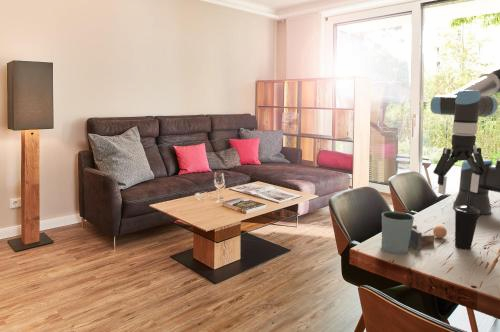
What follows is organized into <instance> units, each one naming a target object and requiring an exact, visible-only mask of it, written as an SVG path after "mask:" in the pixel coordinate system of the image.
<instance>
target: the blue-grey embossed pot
mask: <svg viewBox="0 0 500 332" xmlns="http://www.w3.org/2000/svg"><path fill="white" fill-rule="evenodd" d="M414 220H415V218H414V216H413V215H412V214H410V213H406V212H403V211H402V212H401V211H394V210H393V211H392V210H391V211H384V212H382V213H381V249H382V250H383V251H384V252H386V253H389V254H393V255H403V254H407V253H408V251H409V246H410V245H409V240H410V236H411V230H412V225H414Z"/></svg>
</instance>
